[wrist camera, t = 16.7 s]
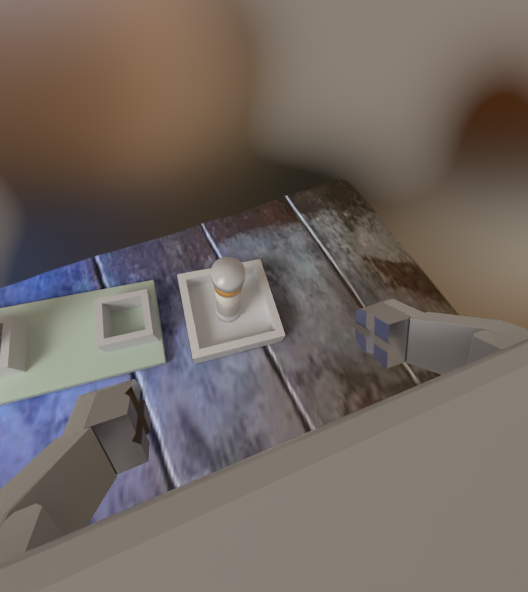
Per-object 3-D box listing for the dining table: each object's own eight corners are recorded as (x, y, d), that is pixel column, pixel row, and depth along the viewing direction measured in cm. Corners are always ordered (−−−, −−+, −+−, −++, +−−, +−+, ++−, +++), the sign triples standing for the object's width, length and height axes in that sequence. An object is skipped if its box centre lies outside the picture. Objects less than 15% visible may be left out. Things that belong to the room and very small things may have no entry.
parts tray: (281, 341, 38) (285, 335, 36) (195, 363, 36) (192, 359, 33) (258, 269, 43) (260, 259, 40) (180, 284, 40) (177, 274, 37)
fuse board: (166, 363, 35) (159, 356, 32) (-38, 415, 30) (-73, 413, 27) (154, 283, 40) (147, 269, 36) (-25, 316, 35) (-54, 304, 31)
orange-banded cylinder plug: (243, 319, 38) (249, 282, 28) (218, 325, 37) (214, 289, 28) (237, 296, 40) (240, 254, 30) (212, 301, 39) (207, 260, 29)
